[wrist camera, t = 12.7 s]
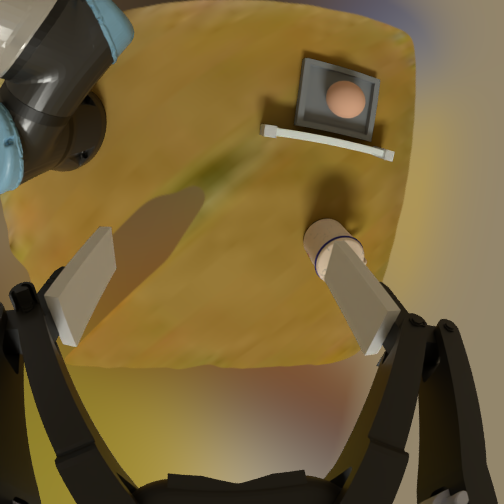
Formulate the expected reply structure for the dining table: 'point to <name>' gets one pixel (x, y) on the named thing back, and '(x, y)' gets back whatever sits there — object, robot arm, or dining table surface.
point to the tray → (315, 106)
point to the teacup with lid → (328, 243)
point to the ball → (345, 99)
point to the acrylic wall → (325, 141)
